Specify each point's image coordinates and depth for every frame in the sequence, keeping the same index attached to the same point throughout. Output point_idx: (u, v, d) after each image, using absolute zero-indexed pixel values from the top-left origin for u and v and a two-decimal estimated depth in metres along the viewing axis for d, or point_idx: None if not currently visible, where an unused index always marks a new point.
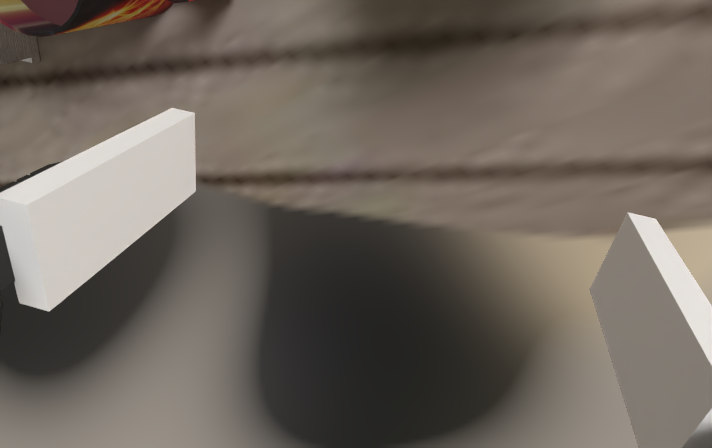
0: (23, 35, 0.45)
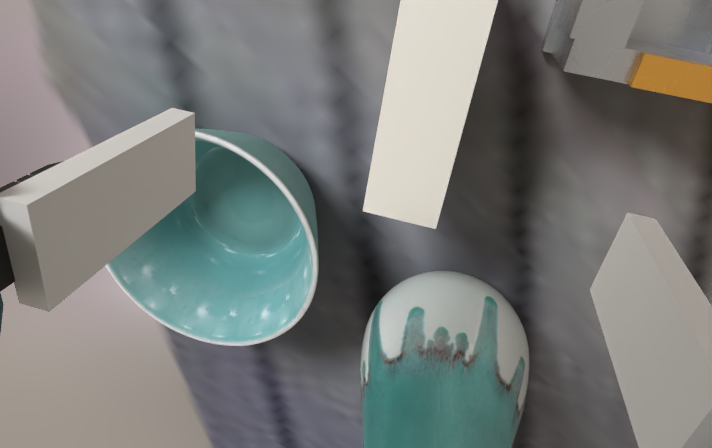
0: None
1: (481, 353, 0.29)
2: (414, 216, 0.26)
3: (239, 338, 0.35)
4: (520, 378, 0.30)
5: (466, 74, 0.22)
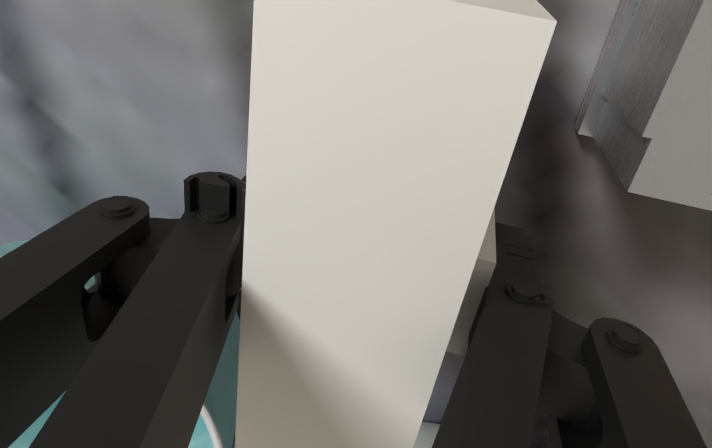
0: None
1: None
2: None
3: None
4: None
5: (443, 267, 0.08)
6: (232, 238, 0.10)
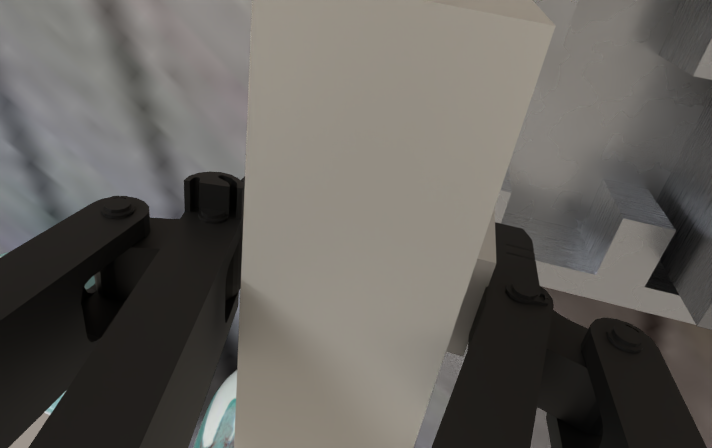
0: None
1: None
2: None
3: None
4: None
5: (442, 271, 0.08)
6: (232, 238, 0.10)
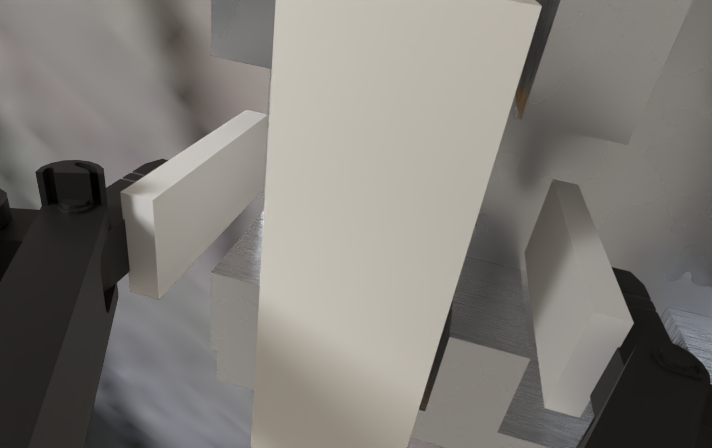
0: None
1: None
2: None
3: None
4: None
5: (446, 233, 0.09)
6: (100, 225, 0.10)
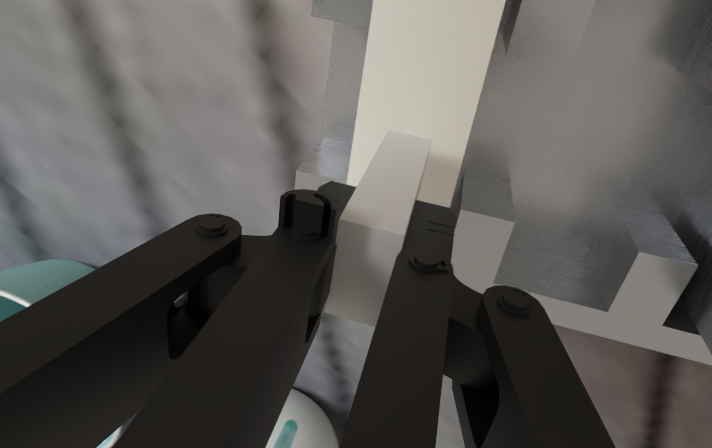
0: None
1: None
2: None
3: None
4: None
5: (463, 104, 0.17)
6: (321, 259, 0.10)
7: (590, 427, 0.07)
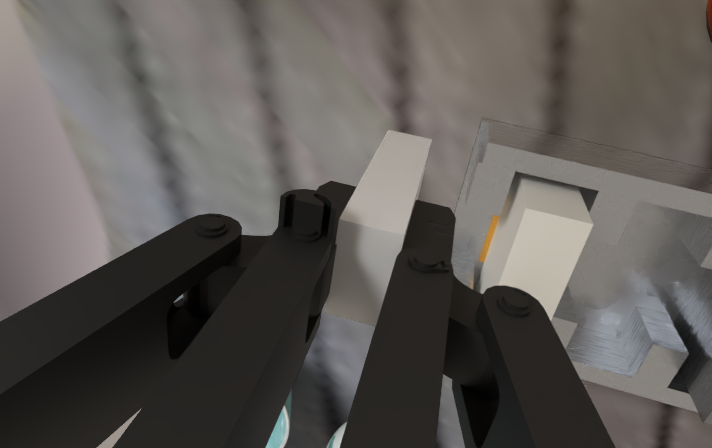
0: None
1: None
2: None
3: None
4: None
5: (562, 276, 0.32)
6: (321, 259, 0.10)
7: (591, 428, 0.07)
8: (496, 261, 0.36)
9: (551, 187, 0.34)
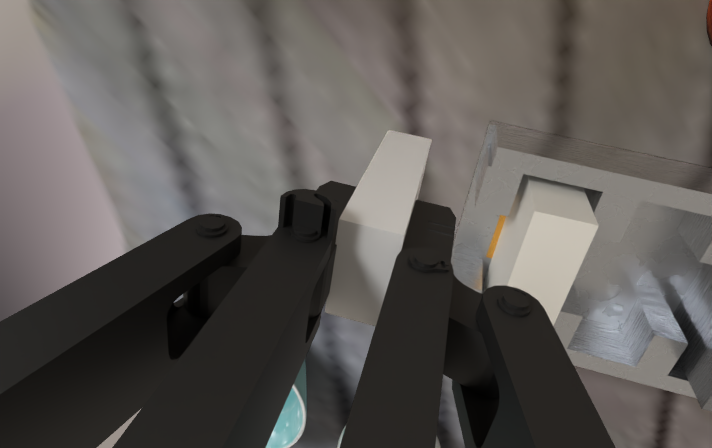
0: None
1: None
2: None
3: None
4: None
5: (568, 274, 0.33)
6: (321, 259, 0.10)
7: (590, 428, 0.07)
8: (505, 259, 0.38)
9: (558, 189, 0.35)
